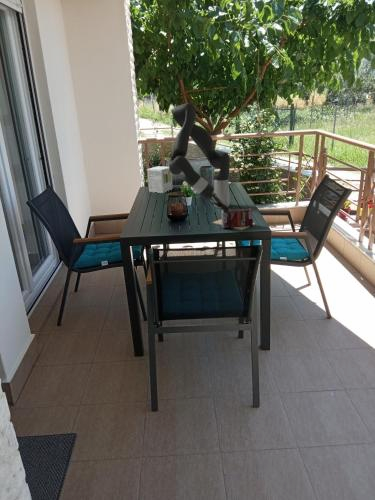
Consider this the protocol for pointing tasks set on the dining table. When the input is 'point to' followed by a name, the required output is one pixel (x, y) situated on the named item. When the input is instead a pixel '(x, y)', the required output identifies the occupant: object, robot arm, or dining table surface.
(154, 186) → the supplement box
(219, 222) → the cork placemat
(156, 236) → the dining table surface
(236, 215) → the supplement box
